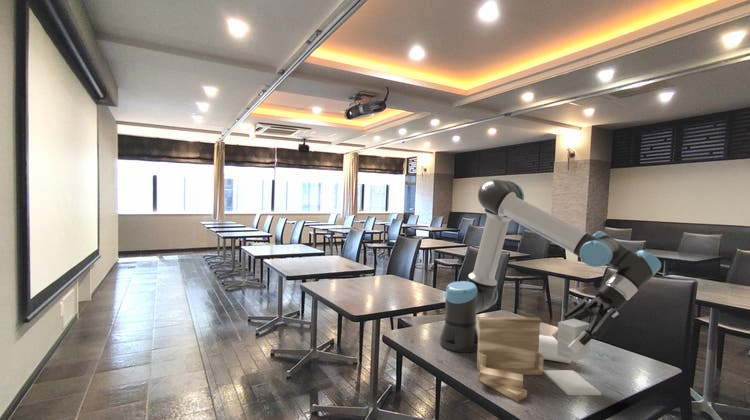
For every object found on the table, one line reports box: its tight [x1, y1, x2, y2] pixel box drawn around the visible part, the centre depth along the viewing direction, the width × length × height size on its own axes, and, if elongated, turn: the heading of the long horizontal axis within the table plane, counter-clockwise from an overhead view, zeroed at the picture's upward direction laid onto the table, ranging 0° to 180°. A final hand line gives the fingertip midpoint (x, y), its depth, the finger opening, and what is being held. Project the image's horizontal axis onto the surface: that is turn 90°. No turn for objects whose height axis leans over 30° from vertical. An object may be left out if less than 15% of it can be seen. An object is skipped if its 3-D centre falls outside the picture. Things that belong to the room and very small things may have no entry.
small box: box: [557, 318, 591, 363], centre depth 111 cm, size 8×6×10 cm
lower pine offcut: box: [477, 372, 528, 402], centre depth 107 cm, size 14×4×2 cm, turn 32°
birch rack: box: [476, 316, 545, 376], centre depth 118 cm, size 5×21×17 cm, turn 93°
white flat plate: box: [543, 369, 602, 396], centre depth 112 cm, size 14×10×1 cm
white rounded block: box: [539, 334, 572, 365], centre depth 130 cm, size 12×10×8 cm
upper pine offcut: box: [478, 367, 524, 389], centre depth 108 cm, size 12×4×2 cm, turn 68°
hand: (562, 343), depth 111 cm, fingers closed on small box, 8 cm apart
